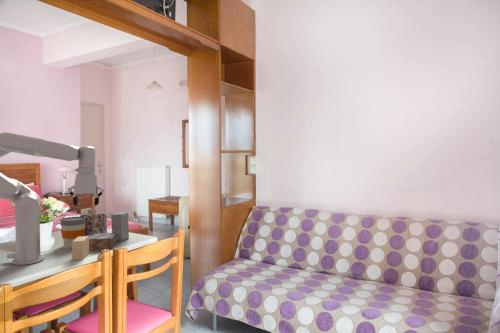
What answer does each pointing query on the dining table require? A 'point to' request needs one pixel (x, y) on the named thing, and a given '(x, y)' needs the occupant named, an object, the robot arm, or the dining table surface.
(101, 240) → the podium
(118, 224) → the skincare box
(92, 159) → the robot arm
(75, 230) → the reusable coffee cup
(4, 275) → the dining table surface
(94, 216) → the decorative jar
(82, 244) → the carton
